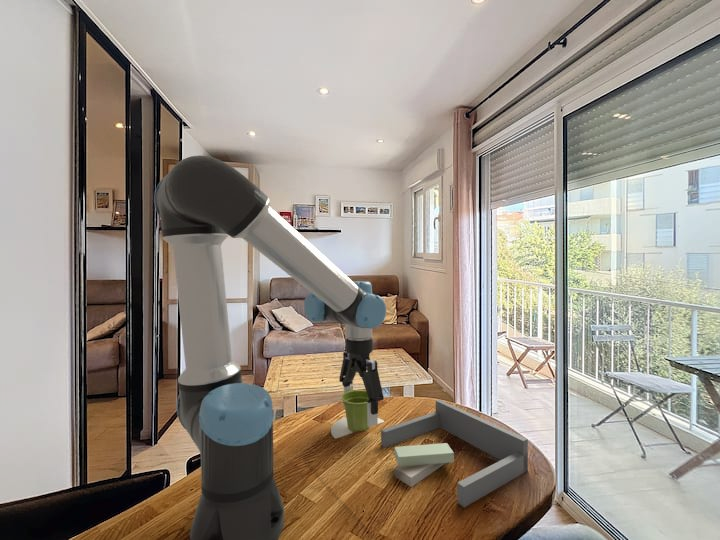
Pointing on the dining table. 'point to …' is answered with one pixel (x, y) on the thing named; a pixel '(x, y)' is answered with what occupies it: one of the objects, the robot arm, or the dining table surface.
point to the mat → (343, 428)
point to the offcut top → (424, 454)
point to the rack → (478, 434)
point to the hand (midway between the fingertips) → (360, 416)
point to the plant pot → (356, 409)
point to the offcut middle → (415, 472)
